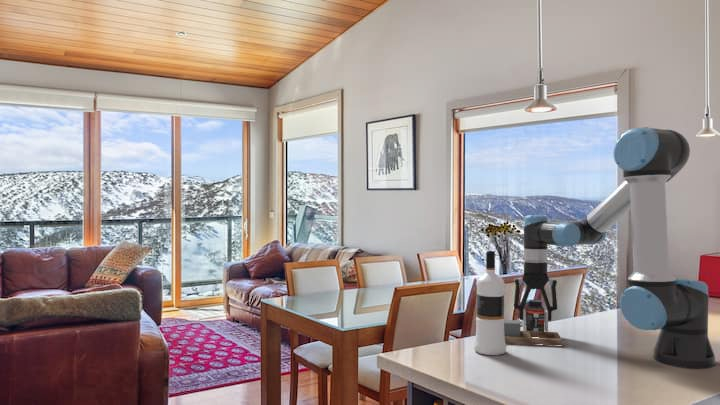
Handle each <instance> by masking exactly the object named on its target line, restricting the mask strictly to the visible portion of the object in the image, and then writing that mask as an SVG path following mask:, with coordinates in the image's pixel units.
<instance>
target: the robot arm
mask: <svg viewBox="0 0 720 405" xmlns="http://www.w3.org/2000/svg"><path fill="white" fill-rule="evenodd" d="M690 148H691V147H690V144H689V141H688V139H687V138H686V137H685V136H684V135H683V134H681V133H680V132H678V131H676V130H672V129H661V128H652V127H647V126H644V127H634V128H630V129H628V130H626V131H625V132H623V133H622V134H621V135H620V136H619V138H617V141H616V142H615V144H614V147H613V159H614V162H615V164H616V165H618V167H619V169H621V170H622V172H623V173H622V174H623V181H622V182H621V183H620V184H619V185H618V186H617V187H616V188H614V190H613V191H612V192H611V193H610V194H608V195H607V197H605V199H604V200H603V201H602V202H600V203H599V204H598V205H597V206H596V207H594V209H593V210H592V211H591V212H590V213H589V214H588V215H587V216H586V217H584V218H583V219H582V220H579V221H548V216H547V215H545V214H544V215H543V214H528V215H526V216H524V220H523V260H524V262H523V275H522V277H519V278H517V277H515V278H514V280H513V281H514V284H515V289H514V290H515V291H514V300H513V307H514V309H517V310H518V312H519V314H518V315H519V316H518V318H519V321H522V331H526V309H525V307H526V304H527V301H528V298H529V295H530V292H531V291H532V290H540V292H541V295H542V296H541V297H542V299H543V302H544V305H545V307H546V309H544V310H545V319H544V332H549V322H552V312H553V311H557V310H558V300H557V299H558V298H557V284H558V281H557V280H556V278H555V279H553V278H549V275H548V262H547V261H548V246H558V247H564V248H565V247H568V248H569V247H575V246H578V245H595V244H599V243H600V244H601V242H603V241H604V240H605V238H606V236H607V232H608V230H610V228H611V227H612V226H614V225H615V224H616V223H617V222H619V221H620V220H621V219H622V218H623V217H624V216H625V215H626V214H628V212H630V217H631V220H630V222H631V239H632V240H631V242H632V260H633V261H632V262H633V264H632V265H633V266H632V267H633V271H632V273H631V274H630V275H629V276H628V278H627V287H628V288H626V289H625V290H623V293H621V295H620V297H619V308H620V311H621V314H622V315H623V317H624V319H625V320H626V321H628V323H629V324H630V325H631V326H632V327H634V328H636V329H639V330H642V331H658V330H659V334H658V336H657V339H656V342H655V345H654V347H653V352H652V353H653V354H652V356H653V359H654V360H656V361H657V362H659V363H662V364H666V365H669V366H674V367H679V368H680V367H681V368H689V369H709V368H713V367H715V366H716V356H715V352H714V350H713V346H712V344H711V341H710V339H709V298H710V295H709V286H708V284H707V283H706V282H704V281H700V280H693V279H685V278H677V277H676V278H675V276H673V274H671V273H670V265H669V264H670V263H669V262H670V261H669V241H668V239H669V238H668V222H667V221H668V218H667V200H666V199H667V197H666V193H667V192H666V184H667V183H668V182H669V181H671V180H672V179H673V178H674V177H675V176H676V175H677V174H678V173H679V172H681V171H682V169H683V168H684V167H685V166H686V164H687V163H688V160H689V158H690V153H691V149H690ZM522 282H524V284H525V285H526V286H525V289H524V290H525V291H524V293H523V295H522V299H521V301H520V300H519V299H520V291H521V290H520V289H521V288H520V287H521V285H522ZM547 283H548V285H550V292H551V293H550V295H551V302H552V303H550V301H549V297H548V295H547V292H546V289H545V286H546V284H547ZM519 301H520V304H519Z"/></svg>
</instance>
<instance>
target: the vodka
mask: <svg viewBox="0 0 720 405" xmlns="http://www.w3.org/2000/svg"><path fill="white" fill-rule="evenodd" d="M485 267H486V268H485V273H484V274H482V275H481V276H479V277H478V278H477V279H476V282H475V285H476V317H475V324H476V326H475V327H476V329H475V340H474V344H473V346H474V351H475V352H476V353H478V354H479V355H484V356H490V355H491V356H493V357H495V355H496V356H501V354H502V355H503V354H505V353H506V352H507V344H506V343H505V334H504V321H505V320H506V318H505V295H506V293H505V289H506V284H505V281H504V279H503V277H500V276H499V275H498V274H497V273H496V252H495V251H493V250H487V251H486V253H485ZM491 356H490V357H491Z"/></svg>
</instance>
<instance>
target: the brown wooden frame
mask: <svg viewBox="0 0 720 405" xmlns="http://www.w3.org/2000/svg"><path fill="white" fill-rule="evenodd" d="M532 337H539V338H532ZM505 343H506V345H520V344H543V345H562V346H563V339H562V337H561V336H560V334H559V333H558V331H557V332H556V331H548V332H547V331H544V332H541V331H524V330H520V337H510V336H505Z"/></svg>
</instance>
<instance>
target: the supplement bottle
mask: <svg viewBox="0 0 720 405" xmlns="http://www.w3.org/2000/svg"><path fill="white" fill-rule="evenodd" d="M528 302H529V303H528V306H526V308H525V311H526V331H541V332H545V310H546V309H545V308H544V307H543V306H542V305H543V304H542V300H538V299H530V300H528Z"/></svg>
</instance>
